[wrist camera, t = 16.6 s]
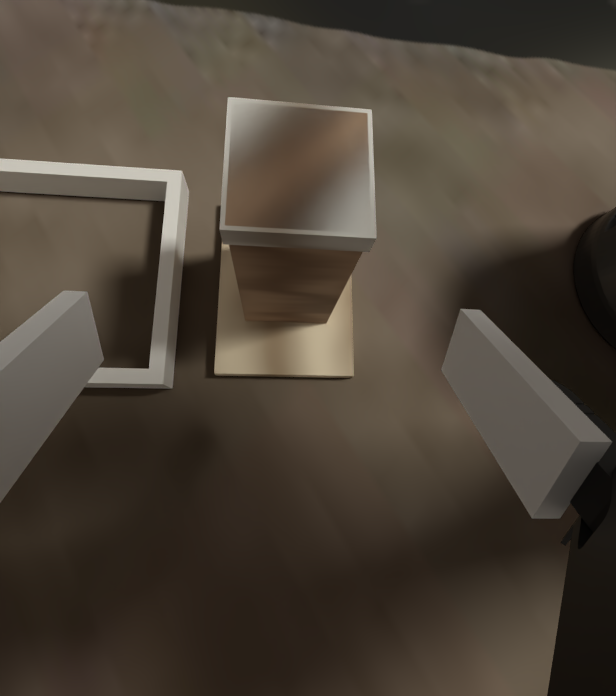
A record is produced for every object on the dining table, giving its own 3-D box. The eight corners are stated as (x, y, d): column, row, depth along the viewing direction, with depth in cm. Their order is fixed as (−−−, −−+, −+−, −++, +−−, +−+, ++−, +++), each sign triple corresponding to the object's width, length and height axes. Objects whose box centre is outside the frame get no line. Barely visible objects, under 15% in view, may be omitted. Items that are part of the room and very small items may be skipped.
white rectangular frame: (189, 191, 31) (182, 170, 28) (172, 388, 27) (163, 384, 25) (-81, 174, 29) (-113, 150, 26) (-136, 384, 25) (-180, 378, 23)
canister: (328, 247, 30) (371, 109, 17) (329, 326, 28) (376, 238, 16) (246, 243, 29) (227, 96, 17) (242, 323, 28) (219, 229, 15)
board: (347, 212, 32) (349, 205, 31) (351, 377, 29) (353, 375, 28) (226, 204, 31) (224, 197, 30) (216, 375, 28) (214, 373, 27)
